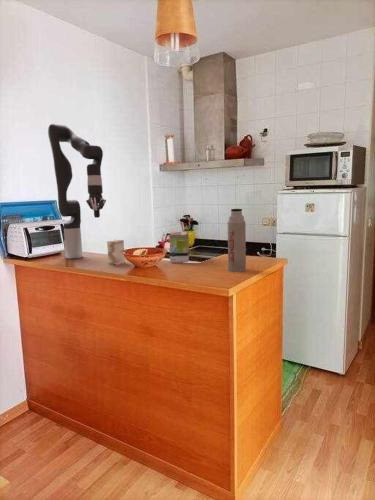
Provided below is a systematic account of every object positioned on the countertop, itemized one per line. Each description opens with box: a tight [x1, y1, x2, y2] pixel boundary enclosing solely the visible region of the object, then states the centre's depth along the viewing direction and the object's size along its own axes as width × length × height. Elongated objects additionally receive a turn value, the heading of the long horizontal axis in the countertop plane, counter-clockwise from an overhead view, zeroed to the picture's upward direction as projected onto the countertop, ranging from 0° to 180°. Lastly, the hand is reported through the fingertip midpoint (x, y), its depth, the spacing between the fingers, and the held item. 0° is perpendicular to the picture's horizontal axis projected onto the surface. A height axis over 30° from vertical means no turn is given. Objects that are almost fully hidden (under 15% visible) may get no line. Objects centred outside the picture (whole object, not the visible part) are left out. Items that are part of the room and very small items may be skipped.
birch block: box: [106, 239, 126, 266], centre depth 195 cm, size 6×6×12 cm
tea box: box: [169, 231, 190, 264], centre depth 198 cm, size 15×10×15 cm, turn 179°
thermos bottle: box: [227, 208, 247, 273], centre depth 169 cm, size 8×8×28 cm
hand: (97, 217), depth 198 cm, fingers closed
